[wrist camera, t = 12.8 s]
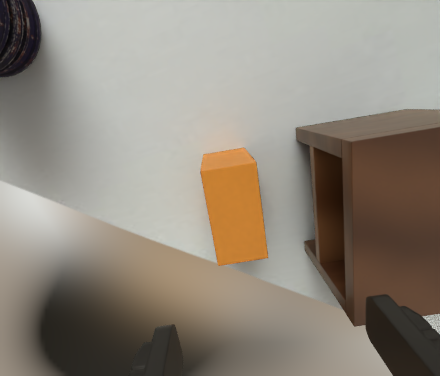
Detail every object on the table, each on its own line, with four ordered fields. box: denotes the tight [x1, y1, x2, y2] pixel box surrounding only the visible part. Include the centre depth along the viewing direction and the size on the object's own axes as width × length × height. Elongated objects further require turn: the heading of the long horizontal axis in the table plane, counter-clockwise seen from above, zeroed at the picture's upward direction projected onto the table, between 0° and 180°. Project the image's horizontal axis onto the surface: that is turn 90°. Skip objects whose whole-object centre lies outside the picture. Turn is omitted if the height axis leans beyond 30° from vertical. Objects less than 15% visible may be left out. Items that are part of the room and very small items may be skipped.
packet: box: [200, 148, 268, 266], centre depth 27 cm, size 9×5×8 cm, turn 9°
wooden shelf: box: [296, 109, 440, 326], centre depth 25 cm, size 15×12×12 cm
